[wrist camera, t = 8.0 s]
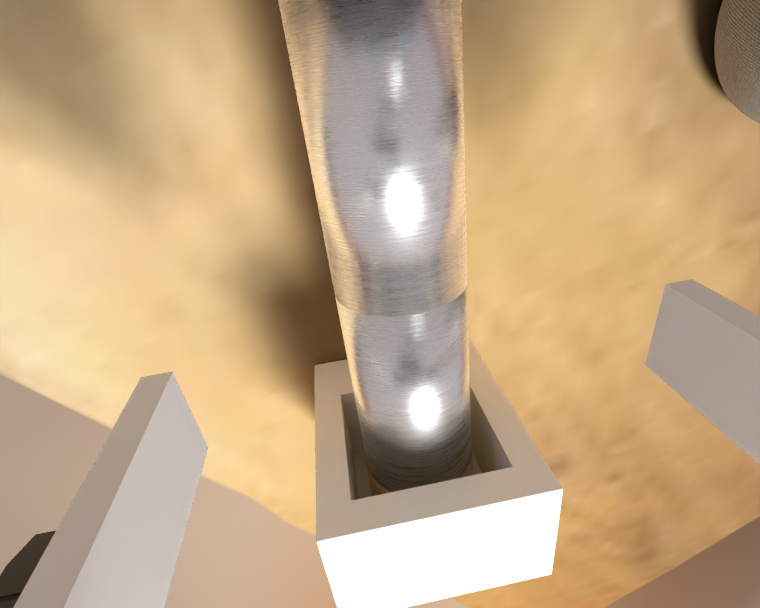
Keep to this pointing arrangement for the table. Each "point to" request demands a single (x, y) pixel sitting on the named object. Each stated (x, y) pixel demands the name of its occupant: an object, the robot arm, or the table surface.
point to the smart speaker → (739, 54)
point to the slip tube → (393, 219)
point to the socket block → (431, 506)
